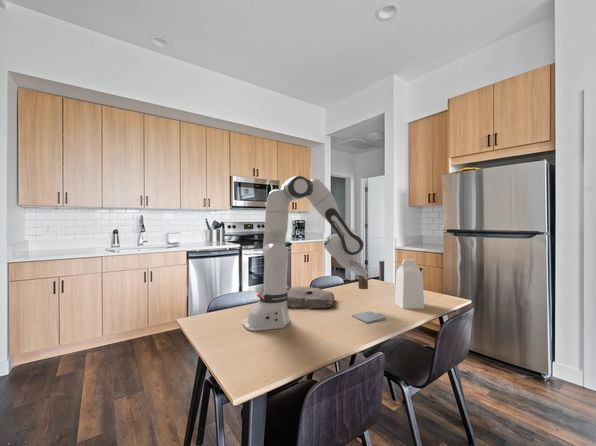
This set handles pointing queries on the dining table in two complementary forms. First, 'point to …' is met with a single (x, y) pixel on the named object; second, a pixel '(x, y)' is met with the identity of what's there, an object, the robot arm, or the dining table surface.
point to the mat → (368, 317)
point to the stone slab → (309, 298)
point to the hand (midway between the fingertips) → (364, 277)
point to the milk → (409, 286)
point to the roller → (362, 282)
